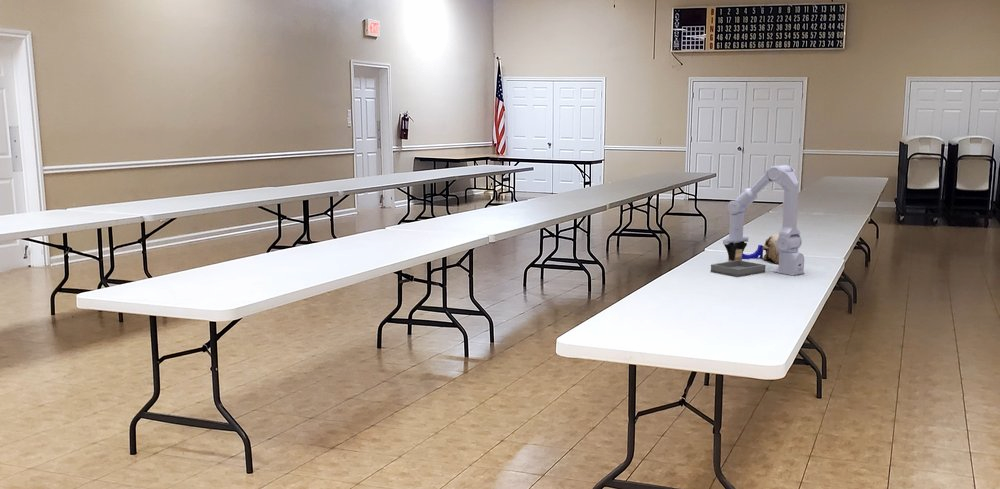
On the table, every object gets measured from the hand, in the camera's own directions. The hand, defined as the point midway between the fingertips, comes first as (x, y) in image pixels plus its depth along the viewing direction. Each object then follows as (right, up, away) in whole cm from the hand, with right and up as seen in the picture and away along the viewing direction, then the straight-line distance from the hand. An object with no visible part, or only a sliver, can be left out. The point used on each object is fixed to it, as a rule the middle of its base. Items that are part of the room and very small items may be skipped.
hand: (735, 259), depth 362 cm
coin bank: (+21, -1, +8) cm, 23 cm away
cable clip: (+10, 0, +15) cm, 18 cm away
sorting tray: (-4, -5, -17) cm, 18 cm away
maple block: (0, -1, 0) cm, 1 cm away
